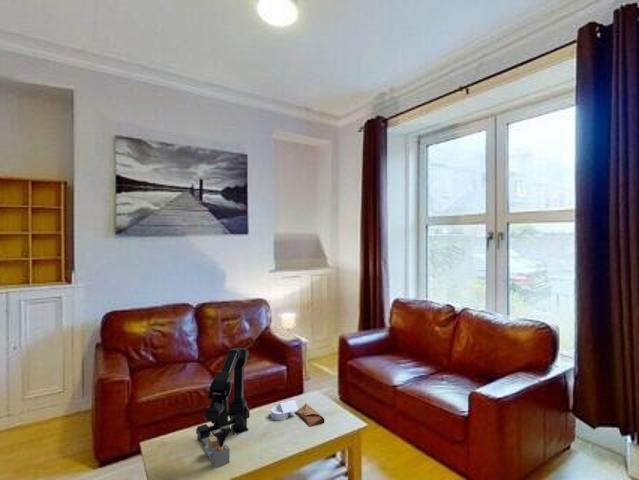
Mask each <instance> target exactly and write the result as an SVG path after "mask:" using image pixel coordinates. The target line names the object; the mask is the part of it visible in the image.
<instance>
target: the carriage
mask: <svg viewBox="0 0 639 480" xmlns="http://www.w3.org/2000/svg"><path fill="white" fill-rule="evenodd" d="M218 446H219V443H218V441H217V438H216V437H215V436H214V435H212V436H209V438H208V446H206V447H205V446H204V450H205V453H206V455H207V456H208V457H209V460H212V449H213V448H216V447H218Z"/></svg>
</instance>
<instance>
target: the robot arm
mask: <svg viewBox="0 0 639 480" xmlns="http://www.w3.org/2000/svg"><path fill="white" fill-rule="evenodd" d="M227 350H228V351H227V356H226V358H225V360H224V362H223V366H222V368H221V370H220V372H219V373H217V374H216V375H215V376H214V377H213V380H212V381H211V382H210V387H209V391H208V396H207V400H211V401H210V402H209V406H207V408H206V409H205V411H204V420H205V421H208V422H211V424H213V425H210V426H208V424H206V423H205V424H201V425H199V426H197V428H196V429H195V432H196V433H195V434H196V436H199V438H200V439H204V438H207V437H211V434H212V436H215V437H216V438H217V441H218V443H219V446H220V447H222V446H223V445H224V444H225V441H226V439H227V438H228V436H229V434H230V433H231V432H233V433H234V434H235V435H238V434H240V433H244V432H247V431H249V428H248V427H247V426H248V419H249V418H250V413H251V412H250V411H251V410H250V409H249V407H248V404H247V403H248V401H247V399H246V398H245V397H244V396H245V395H244V393H245V392H244V387H245V385H244V384H245V381H244V380H245V378H244V377H245V365H246V364H247V362H248V359H249V355H250V352H249V350H248V349H247V348H246V347H245V348H244V347H243V348H241V347H233V348H231V349H227ZM232 374H233V385H232V381H231V380H232V379H231V377H232ZM232 388H233V399H232V401H231V402H230V404H229V397H230V395H231V390H232ZM229 419H230V420H229Z"/></svg>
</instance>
